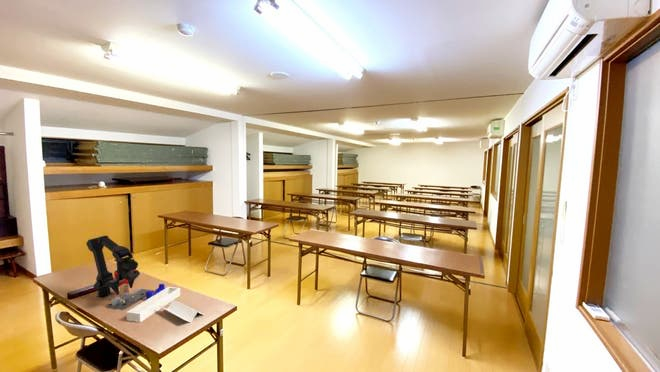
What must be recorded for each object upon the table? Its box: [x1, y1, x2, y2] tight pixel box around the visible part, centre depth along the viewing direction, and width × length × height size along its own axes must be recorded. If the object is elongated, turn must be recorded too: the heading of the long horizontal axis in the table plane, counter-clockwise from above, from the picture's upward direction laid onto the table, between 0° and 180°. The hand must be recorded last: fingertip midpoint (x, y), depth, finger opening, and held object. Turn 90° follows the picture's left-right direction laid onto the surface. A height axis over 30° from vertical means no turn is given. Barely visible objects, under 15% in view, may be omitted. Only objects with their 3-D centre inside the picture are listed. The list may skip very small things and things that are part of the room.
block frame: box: [125, 286, 181, 323], centre depth 168 cm, size 9×31×5 cm, turn 169°
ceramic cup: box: [113, 268, 137, 286], centre depth 200 cm, size 13×17×10 cm
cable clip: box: [145, 283, 166, 301], centre depth 181 cm, size 12×4×6 cm, turn 169°
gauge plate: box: [107, 287, 155, 311], centre depth 176 cm, size 12×22×5 cm, turn 169°
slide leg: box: [119, 284, 134, 299], centre depth 174 cm, size 8×3×9 cm, turn 79°
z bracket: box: [159, 299, 205, 323], centre depth 161 cm, size 12×25×6 cm
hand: (124, 291), depth 175 cm, fingers open, 9 cm apart
